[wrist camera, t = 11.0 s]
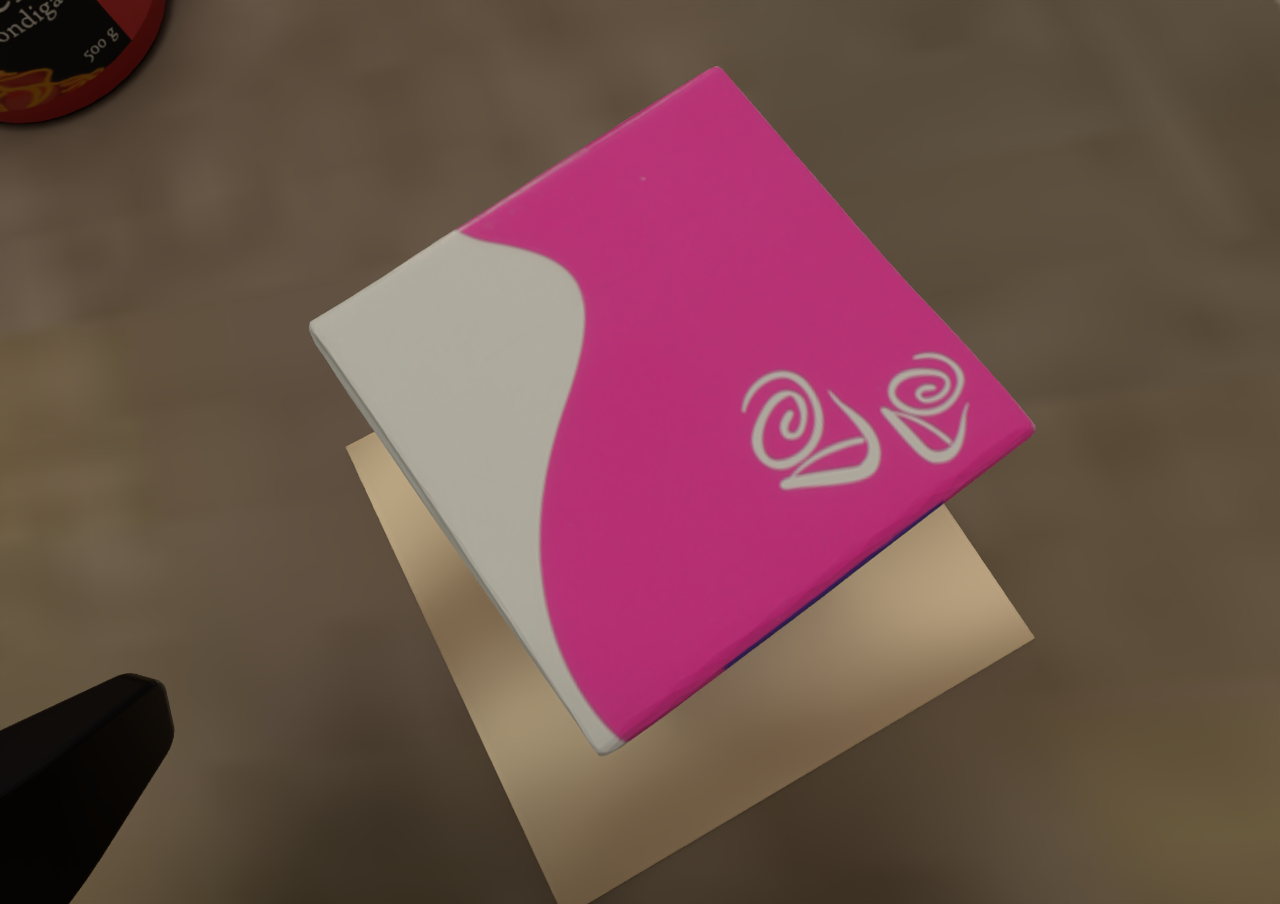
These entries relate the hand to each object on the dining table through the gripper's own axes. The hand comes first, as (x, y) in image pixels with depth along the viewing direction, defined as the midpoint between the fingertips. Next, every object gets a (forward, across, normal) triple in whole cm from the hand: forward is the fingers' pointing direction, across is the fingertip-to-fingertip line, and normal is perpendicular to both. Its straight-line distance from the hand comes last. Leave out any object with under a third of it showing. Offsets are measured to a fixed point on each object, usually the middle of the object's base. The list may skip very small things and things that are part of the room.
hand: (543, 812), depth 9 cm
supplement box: (+11, 0, +4) cm, 11 cm away
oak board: (+11, 0, +4) cm, 12 cm away
